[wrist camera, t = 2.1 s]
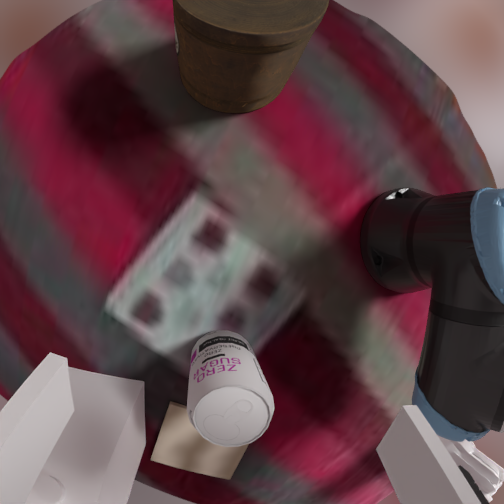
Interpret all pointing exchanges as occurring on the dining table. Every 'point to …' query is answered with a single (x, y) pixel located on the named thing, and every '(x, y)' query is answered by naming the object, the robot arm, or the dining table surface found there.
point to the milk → (96, 443)
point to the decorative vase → (476, 465)
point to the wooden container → (241, 48)
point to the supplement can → (227, 390)
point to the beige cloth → (192, 447)
